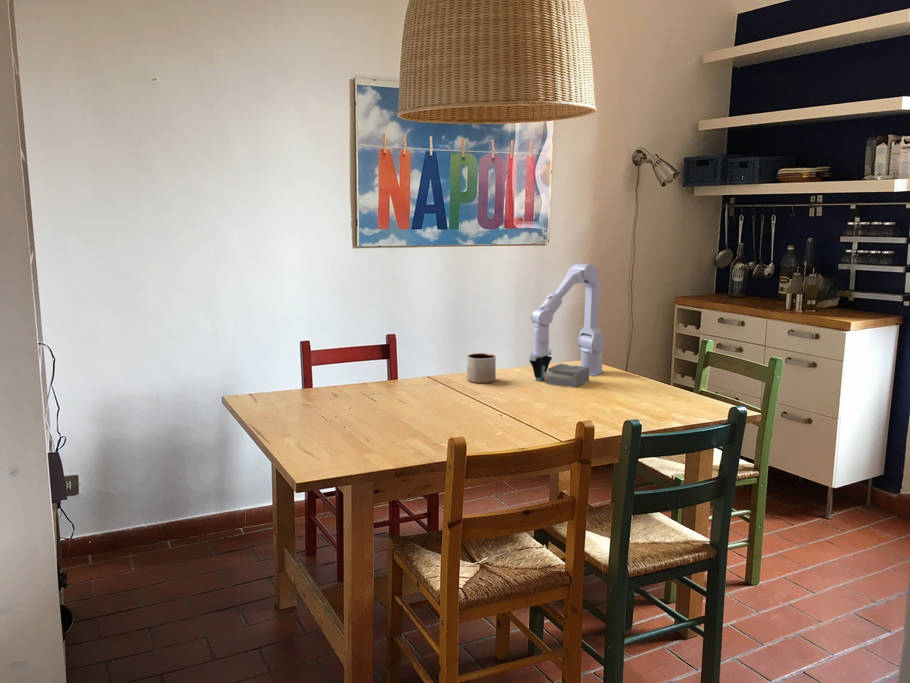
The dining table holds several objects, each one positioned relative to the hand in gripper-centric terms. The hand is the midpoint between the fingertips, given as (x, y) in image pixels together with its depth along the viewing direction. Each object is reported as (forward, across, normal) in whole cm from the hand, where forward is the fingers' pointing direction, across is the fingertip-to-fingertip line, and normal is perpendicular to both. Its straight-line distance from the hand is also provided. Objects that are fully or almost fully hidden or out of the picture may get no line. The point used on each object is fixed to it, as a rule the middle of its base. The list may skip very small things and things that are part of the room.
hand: (540, 376), depth 302 cm
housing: (+1, -1, +10) cm, 11 cm away
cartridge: (+1, 0, +7) cm, 7 cm away
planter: (+2, +13, -18) cm, 23 cm away
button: (-2, -5, +10) cm, 12 cm away
